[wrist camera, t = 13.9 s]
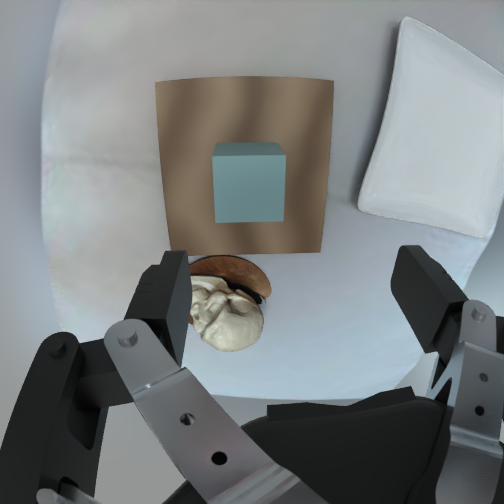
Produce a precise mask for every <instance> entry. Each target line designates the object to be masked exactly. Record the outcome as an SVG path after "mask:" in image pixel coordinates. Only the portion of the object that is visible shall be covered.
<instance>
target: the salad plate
mask: <svg viewBox="0 0 504 504" xmlns="http://www.w3.org/2000/svg"><path fill="white" fill-rule="evenodd" d="M503 194H504V74H502V73H501V72H499V71H498V70H497V69H495V68H494V67H492V66H491V65H489V64H488V63H486V62H485V61H484V60H482V59H481V58H479V57H478V56H476V55H475V54H473V53H472V52H470V51H469V50H467V49H466V48H464V47H463V46H461V45H459V44H458V43H456V42H455V41H453V40H452V39H450V38H448V37H447V36H445V35H443V34H442V33H440V32H438V31H437V30H435V29H433V28H431V27H429V26H428V25H426V24H424V23H422V22H420V21H418V20H416V19H413V18H411V17H404V18H402V20H401V21H400V25H399V32H398V38H397V46H396V53H395V60H394V67H393V74H392V80H391V85H390V90H389V95H388V99H387V103H386V108H385V112H384V116H383V120H382V124H381V127H380V131H379V134H378V138H377V141H376V144H375V147H374V150H373V153H372V156H371V159H370V161H369V164H368V167H367V170H366V173H365V176H364V179H363V182H362V185H361V188H360V192H359V196H358V201H357V206H358V209H359V210H361V211H362V212H365V213H368V214H372V215H376V216H381V217H386V218H392V219H397V220H403V221H408V222H414V223H419V224H425V225H430V226H435V227H439V228H443V229H447V230H451V231H455V232H458V233H462V234H465V235H469V236H472V237H477V238H483V237H485V236H486V235H487V233H488V231H489V229H490V227H491V225H492V223H493V220H494V218H495V215H496V213H497V210H498V208H499V205H500V202H501V200H502V197H503Z"/></svg>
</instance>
